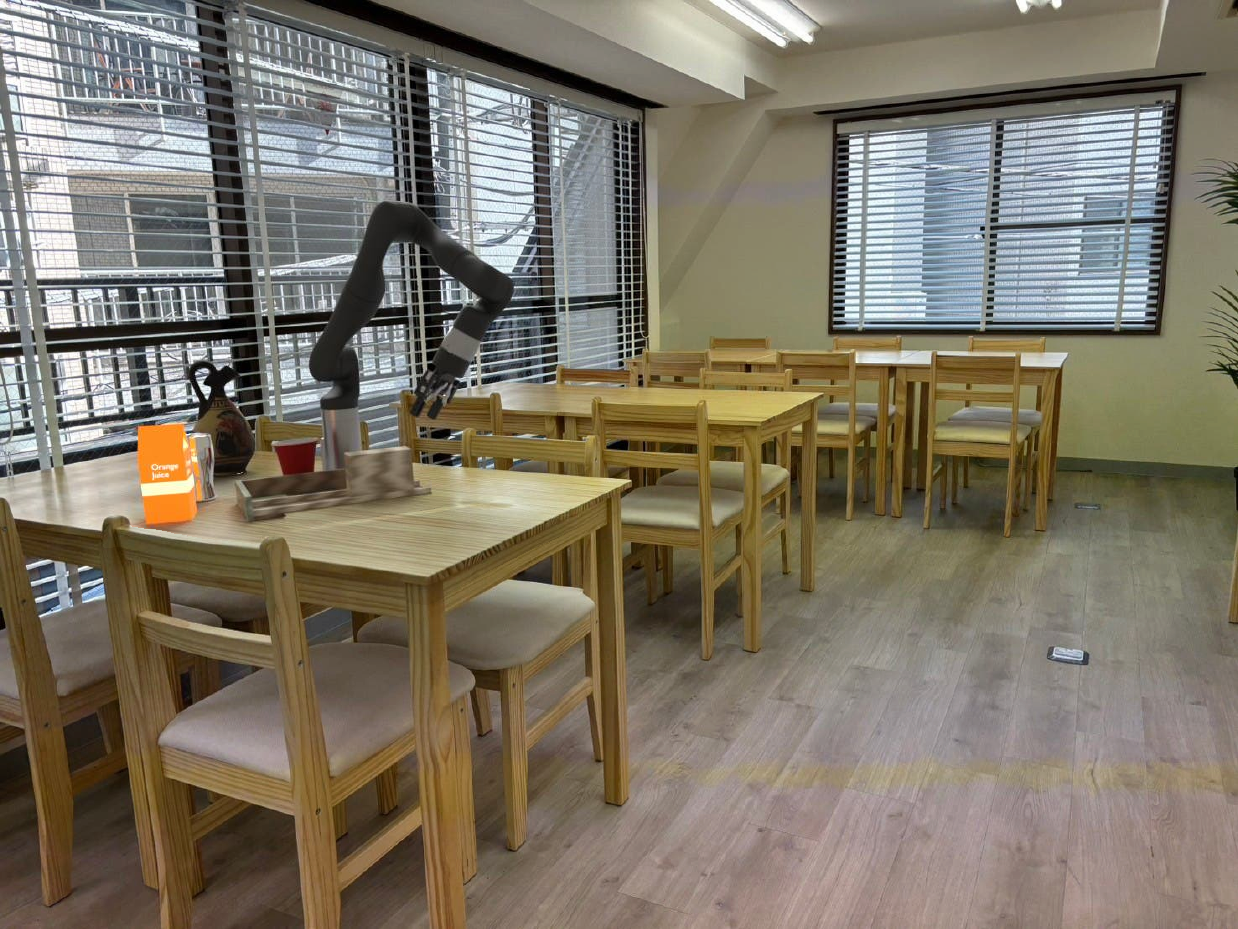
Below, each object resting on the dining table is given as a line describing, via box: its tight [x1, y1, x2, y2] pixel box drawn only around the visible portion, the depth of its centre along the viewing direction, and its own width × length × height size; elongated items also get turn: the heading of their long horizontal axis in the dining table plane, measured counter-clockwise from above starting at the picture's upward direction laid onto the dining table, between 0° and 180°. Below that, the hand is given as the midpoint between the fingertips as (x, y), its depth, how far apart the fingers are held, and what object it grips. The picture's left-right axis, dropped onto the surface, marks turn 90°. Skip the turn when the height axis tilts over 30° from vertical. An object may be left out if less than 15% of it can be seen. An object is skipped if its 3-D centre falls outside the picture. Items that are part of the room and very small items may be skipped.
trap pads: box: [299, 488, 336, 495], centre depth 211 cm, size 20×7×1 cm, turn 118°
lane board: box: [234, 468, 432, 522], centre depth 206 cm, size 39×19×5 cm, turn 118°
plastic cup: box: [270, 437, 319, 476], centre depth 219 cm, size 11×11×12 cm
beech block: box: [344, 445, 415, 497], centre depth 206 cm, size 14×5×10 cm, turn 118°
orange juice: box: [136, 423, 198, 525], centre depth 192 cm, size 8×9×20 cm
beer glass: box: [186, 433, 218, 503], centre depth 209 cm, size 7×7×15 cm
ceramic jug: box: [187, 360, 256, 477], centre depth 238 cm, size 17×15×30 cm
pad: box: [252, 494, 288, 501], centre depth 203 cm, size 8×7×1 cm
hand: (422, 416), depth 200 cm, fingers open, 8 cm apart
